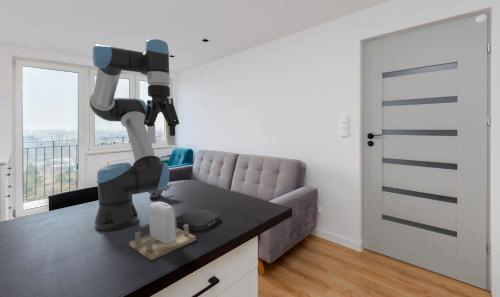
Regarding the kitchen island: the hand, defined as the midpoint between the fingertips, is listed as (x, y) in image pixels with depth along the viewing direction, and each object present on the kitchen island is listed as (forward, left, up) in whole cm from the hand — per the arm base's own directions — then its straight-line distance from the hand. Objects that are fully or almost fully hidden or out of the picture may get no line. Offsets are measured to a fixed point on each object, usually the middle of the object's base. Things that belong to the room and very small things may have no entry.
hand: (161, 144), depth 90 cm
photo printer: (+11, -7, -31) cm, 33 cm away
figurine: (-37, +19, -32) cm, 52 cm away
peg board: (+11, -7, -32) cm, 34 cm away
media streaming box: (+6, +11, -32) cm, 35 cm away
